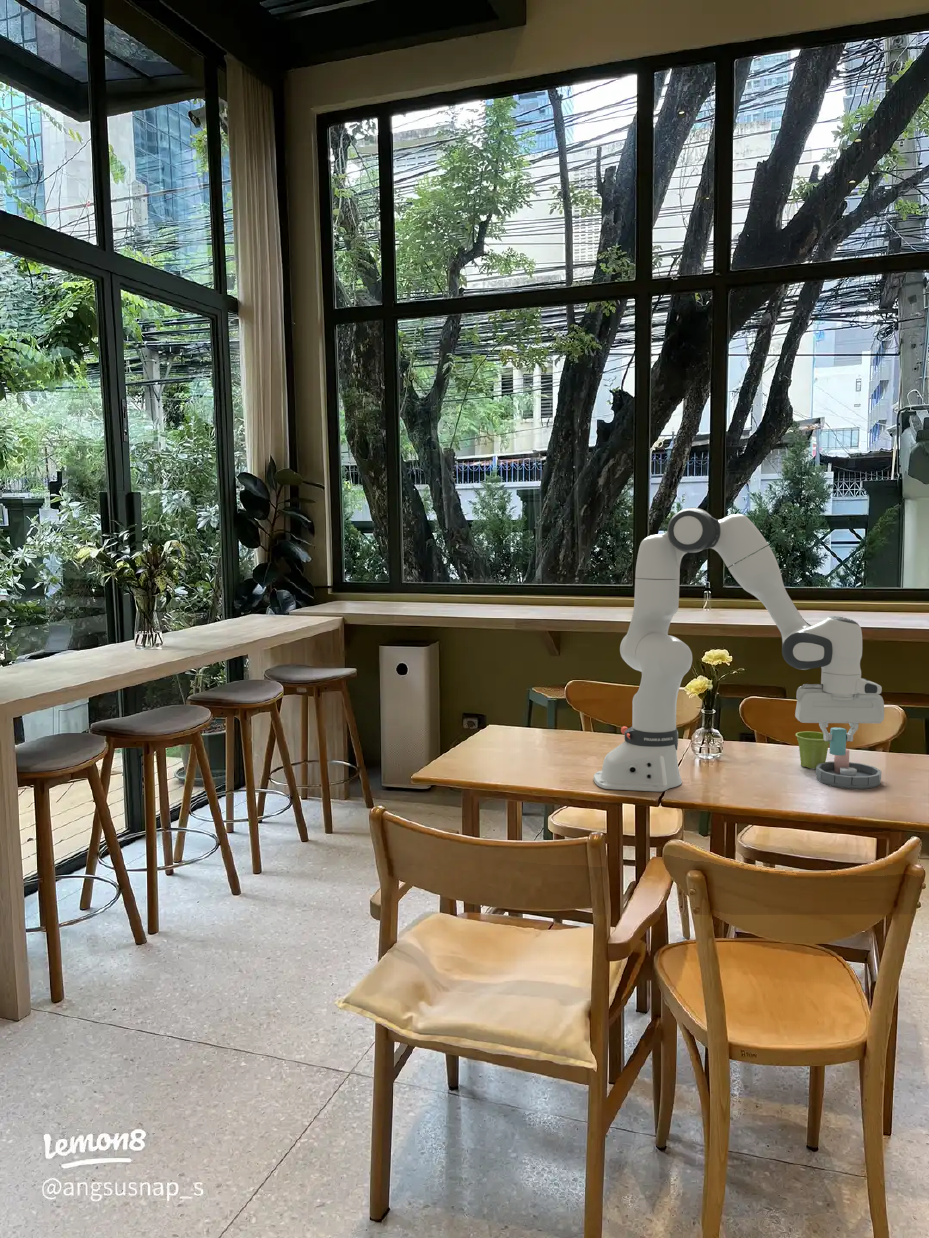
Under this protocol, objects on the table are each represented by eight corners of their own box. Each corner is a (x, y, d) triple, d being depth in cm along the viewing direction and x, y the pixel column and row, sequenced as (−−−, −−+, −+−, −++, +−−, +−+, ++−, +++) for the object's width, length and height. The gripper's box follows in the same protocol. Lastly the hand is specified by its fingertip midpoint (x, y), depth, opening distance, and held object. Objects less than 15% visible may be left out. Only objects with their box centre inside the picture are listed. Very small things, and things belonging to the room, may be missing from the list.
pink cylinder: (837, 774, 238) (837, 751, 237) (831, 770, 241) (832, 748, 241) (851, 773, 238) (851, 751, 237) (845, 770, 241) (846, 748, 241)
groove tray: (829, 789, 228) (829, 777, 228) (807, 772, 243) (808, 761, 243) (890, 788, 227) (891, 777, 227) (865, 772, 243) (865, 761, 242)
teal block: (832, 755, 218) (833, 730, 218) (827, 751, 222) (828, 727, 221) (847, 755, 218) (849, 730, 218) (842, 751, 222) (843, 727, 221)
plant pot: (826, 762, 253) (827, 731, 252) (835, 771, 244) (836, 739, 243) (791, 761, 255) (792, 731, 254) (799, 770, 245) (799, 739, 244)
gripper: (801, 686, 216) (799, 743, 217) (888, 686, 215) (885, 744, 216) (792, 681, 222) (790, 737, 223) (877, 682, 221) (874, 738, 223)
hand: (838, 740), depth 220 cm, fingers closed on teal block, 4 cm apart
